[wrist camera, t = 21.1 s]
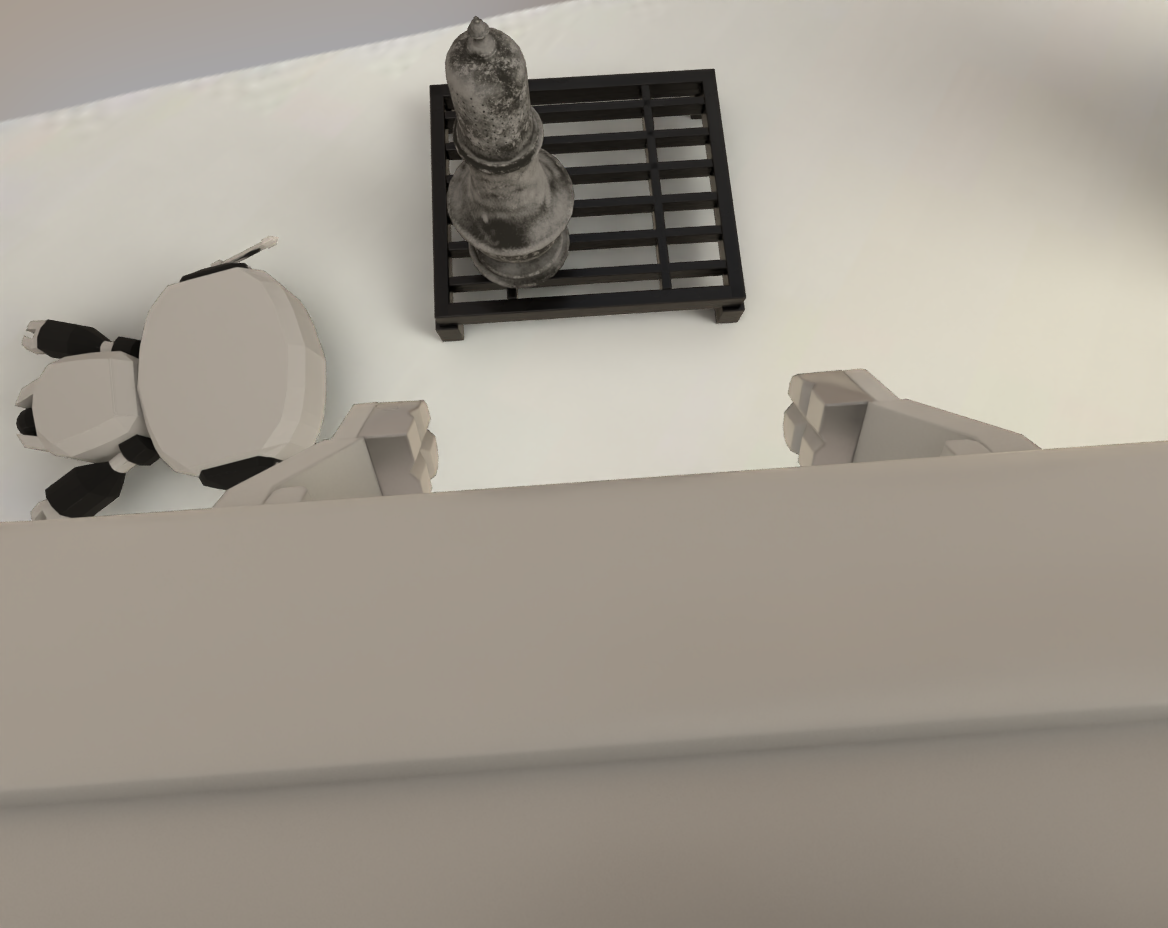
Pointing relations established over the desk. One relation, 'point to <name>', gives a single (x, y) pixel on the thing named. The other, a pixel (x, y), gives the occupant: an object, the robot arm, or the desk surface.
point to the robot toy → (178, 388)
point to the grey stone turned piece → (504, 165)
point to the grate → (606, 201)
